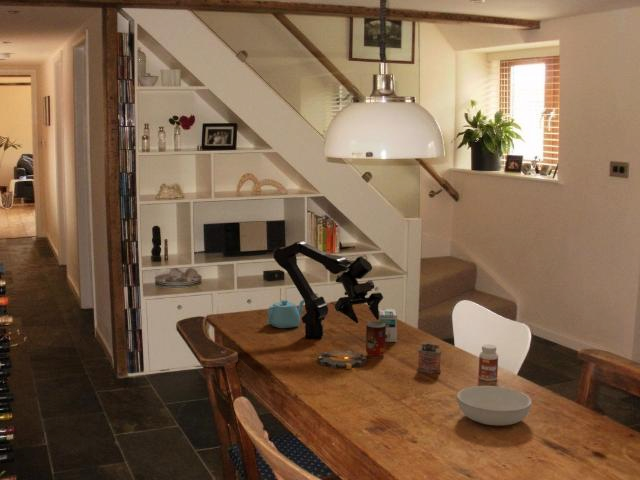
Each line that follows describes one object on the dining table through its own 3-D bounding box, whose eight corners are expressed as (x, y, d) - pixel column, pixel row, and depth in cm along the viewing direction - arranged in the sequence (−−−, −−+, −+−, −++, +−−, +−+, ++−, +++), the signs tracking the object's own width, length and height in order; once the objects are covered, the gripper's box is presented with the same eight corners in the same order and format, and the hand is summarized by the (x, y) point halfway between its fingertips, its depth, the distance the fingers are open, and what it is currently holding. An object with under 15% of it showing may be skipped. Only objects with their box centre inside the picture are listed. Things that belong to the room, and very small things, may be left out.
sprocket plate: (316, 368, 281) (316, 363, 281) (319, 354, 298) (319, 349, 297) (366, 369, 280) (366, 364, 280) (366, 354, 297) (366, 350, 297)
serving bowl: (525, 438, 222) (526, 414, 221) (449, 427, 230) (450, 404, 229) (534, 412, 241) (535, 390, 240) (464, 403, 249) (465, 381, 248)
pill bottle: (479, 381, 269) (480, 348, 267) (477, 375, 275) (478, 343, 273) (498, 381, 268) (499, 349, 267) (496, 375, 274) (497, 343, 273)
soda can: (362, 356, 295) (362, 323, 293) (371, 351, 301) (372, 319, 299) (379, 359, 291) (380, 326, 290) (388, 354, 297) (389, 322, 295)
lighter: (416, 371, 279) (416, 342, 277) (419, 368, 282) (420, 340, 280) (438, 374, 275) (439, 346, 274) (442, 371, 278) (442, 343, 277)
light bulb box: (397, 342, 313) (397, 315, 312) (379, 342, 314) (380, 315, 312) (395, 334, 324) (395, 308, 322) (378, 334, 324) (378, 308, 322)
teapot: (313, 300, 335) (273, 305, 326) (313, 326, 336) (273, 331, 328) (299, 294, 346) (260, 299, 337) (299, 319, 347) (260, 324, 339)
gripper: (338, 276, 296) (355, 312, 289) (380, 271, 306) (398, 305, 298) (327, 293, 304) (343, 328, 296) (368, 287, 314) (385, 322, 306)
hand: (367, 320), depth 299 cm, fingers open, 9 cm apart
